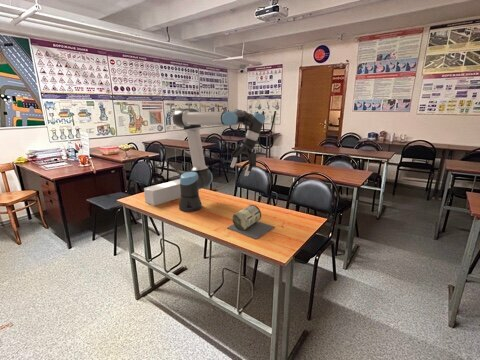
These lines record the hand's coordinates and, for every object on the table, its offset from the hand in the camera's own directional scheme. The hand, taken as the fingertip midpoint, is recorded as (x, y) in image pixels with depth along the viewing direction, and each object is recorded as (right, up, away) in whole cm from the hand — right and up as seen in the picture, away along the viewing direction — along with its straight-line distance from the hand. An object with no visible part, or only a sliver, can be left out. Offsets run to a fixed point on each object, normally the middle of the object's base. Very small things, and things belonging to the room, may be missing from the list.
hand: (238, 171), depth 163 cm
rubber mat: (+7, -32, -15) cm, 36 cm away
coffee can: (+1, -28, -20) cm, 34 cm away
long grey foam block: (-52, -19, +33) cm, 65 cm away
